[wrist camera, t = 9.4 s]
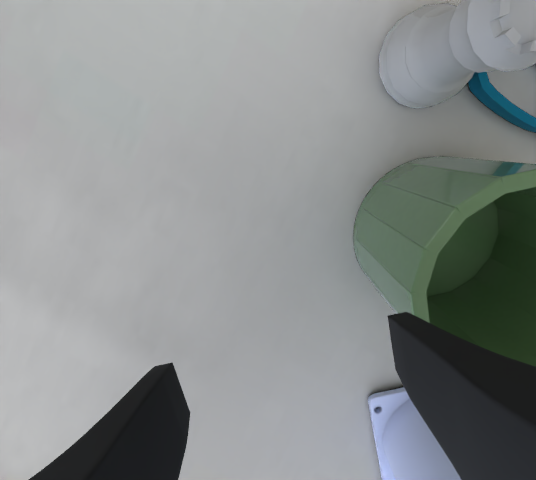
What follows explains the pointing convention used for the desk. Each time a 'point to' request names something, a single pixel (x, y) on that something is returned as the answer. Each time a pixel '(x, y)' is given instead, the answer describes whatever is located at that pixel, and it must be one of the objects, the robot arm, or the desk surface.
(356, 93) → the desk surface
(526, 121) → the scissors
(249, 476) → the desk surface
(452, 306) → the planter
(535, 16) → the rook chess piece
